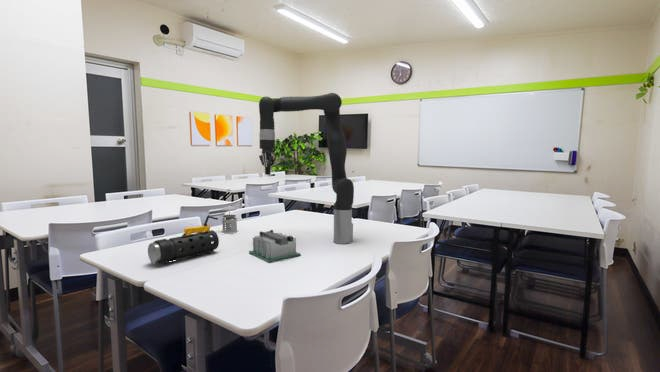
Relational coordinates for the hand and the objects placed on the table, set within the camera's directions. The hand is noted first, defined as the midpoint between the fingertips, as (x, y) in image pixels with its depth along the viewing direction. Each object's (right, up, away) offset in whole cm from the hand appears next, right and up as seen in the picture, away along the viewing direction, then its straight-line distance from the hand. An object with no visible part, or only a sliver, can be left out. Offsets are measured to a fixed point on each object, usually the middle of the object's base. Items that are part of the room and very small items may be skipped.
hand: (267, 174), depth 174 cm
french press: (-27, -32, +28) cm, 51 cm away
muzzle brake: (-32, -37, -20) cm, 53 cm away
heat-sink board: (+6, -37, -14) cm, 40 cm away
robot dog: (-35, -35, +6) cm, 49 cm away
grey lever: (+6, -30, -15) cm, 34 cm away
